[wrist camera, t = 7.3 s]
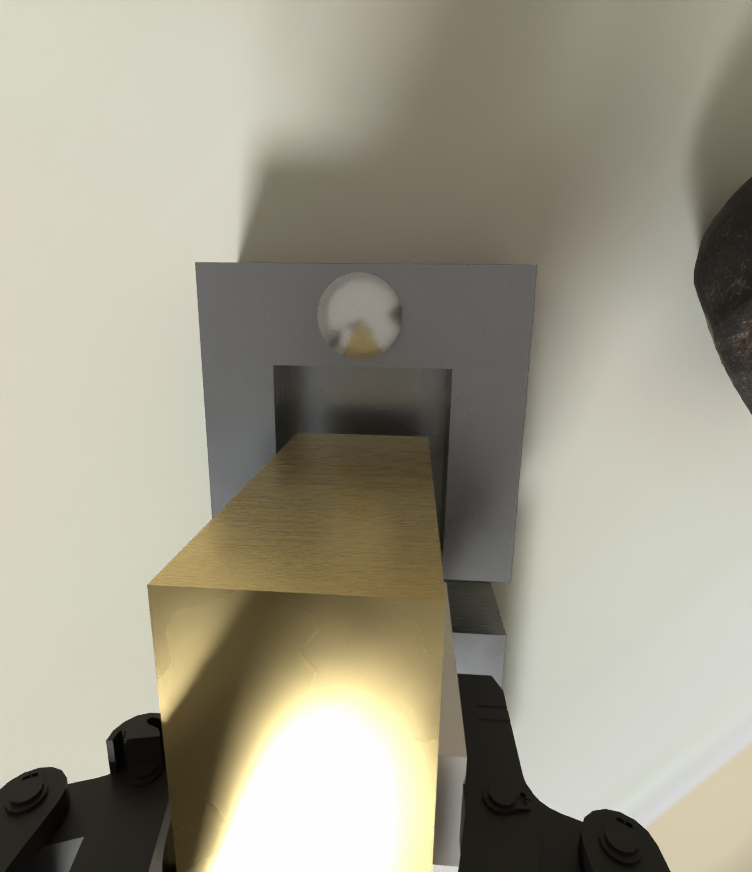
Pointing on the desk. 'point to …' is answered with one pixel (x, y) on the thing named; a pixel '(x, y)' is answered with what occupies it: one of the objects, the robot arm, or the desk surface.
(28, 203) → the desk surface
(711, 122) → the desk surface
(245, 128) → the desk surface
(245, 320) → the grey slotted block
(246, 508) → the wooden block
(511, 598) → the desk surface
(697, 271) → the stone
